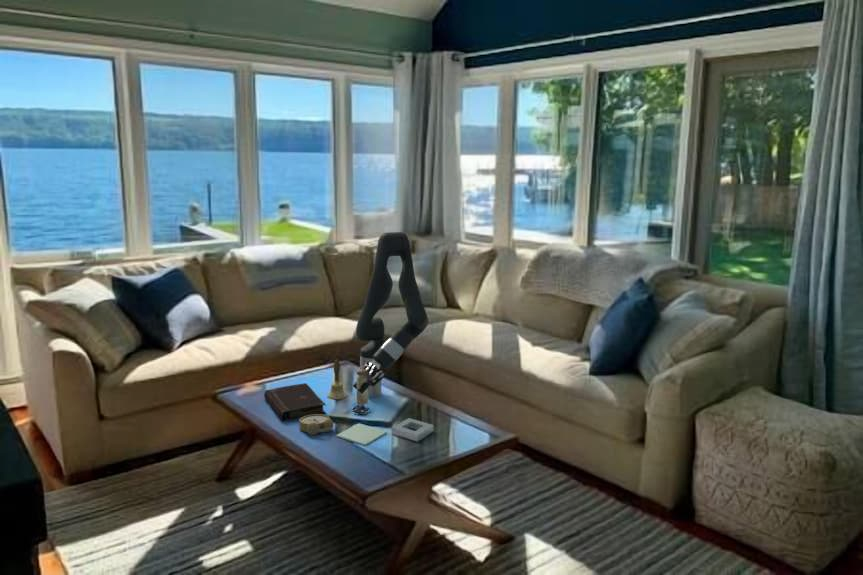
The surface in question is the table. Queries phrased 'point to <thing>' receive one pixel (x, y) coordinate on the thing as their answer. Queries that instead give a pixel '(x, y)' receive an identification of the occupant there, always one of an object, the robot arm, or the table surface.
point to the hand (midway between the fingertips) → (357, 389)
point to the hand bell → (336, 385)
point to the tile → (361, 434)
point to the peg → (361, 378)
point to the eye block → (405, 431)
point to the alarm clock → (315, 423)
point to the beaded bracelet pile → (360, 409)
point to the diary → (294, 401)
